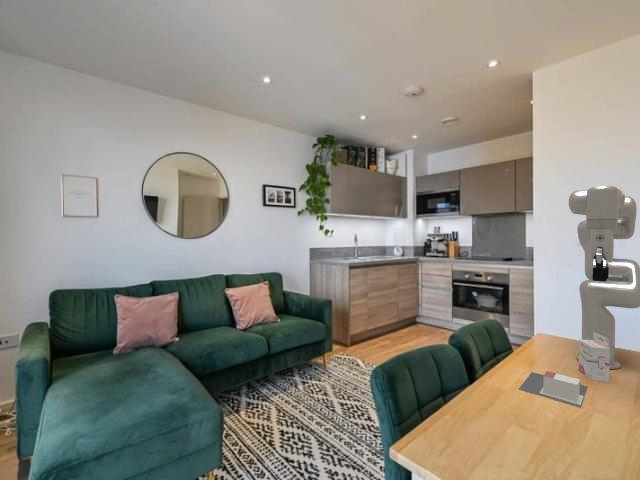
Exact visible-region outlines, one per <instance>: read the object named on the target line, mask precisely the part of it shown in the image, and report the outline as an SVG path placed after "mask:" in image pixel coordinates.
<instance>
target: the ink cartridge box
mask: <svg viewBox="0 0 640 480" xmlns="http://www.w3.org/2000/svg"><path fill="white" fill-rule="evenodd" d="M593 335H594V340H582V338H581V339H578V354H579V361H578V371H579V372H580V373H581V374H583V375H585V377H588V379H590V380H592V381H593V382H594V381H595V382H606V383H609V382H610V369H609V368H610V348H609V339H608V338H606V337H604V336H602V335H600V334H597V333H595V332H593ZM599 338H601V339H603V340H604V341H601V340H600V339H599Z"/></svg>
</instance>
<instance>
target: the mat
mask: <svg viewBox="0 0 640 480" xmlns="http://www.w3.org/2000/svg"><path fill="white" fill-rule="evenodd" d="M543 386H544V374H541V373H538V372H533V371H531V372H530V373H529V374H528V376H527V377H526V379H525V380H524V381H523V383H522V384H521V385H520V387H519V388H518V390H519V391H522V392H525V393H528V394H532V395H536V396H539V397H542V398H546V399H548V400H549V399H550V400H552V401H556V402H560V403H563V404H566V405H568V406H569V405H570V406H574V407H576V408H580V409H582V406H583V402H584V400H585V399H584V398H585V396H586V394H587V390H588V385H585V384H582V383H581V384H580V394H579V399H578V402H574V401H571V400H567V399H564V398H560V397H557V396H553V395H550V394H546V393H543Z"/></svg>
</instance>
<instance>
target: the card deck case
mask: <svg viewBox="0 0 640 480" xmlns="http://www.w3.org/2000/svg"><path fill="white" fill-rule="evenodd" d="M543 375H544V386H543V393H546V394H550V395H553V396H557V397H560V398H564V399H567V400H571V401H574V402H578V399H579V394H580V383H581V380H580V378H575V377H573V376H568V375H564V374H559V373H556V372H553V371H548V370H546V371H545V373H544V374H543Z"/></svg>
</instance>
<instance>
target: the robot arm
mask: <svg viewBox="0 0 640 480" xmlns="http://www.w3.org/2000/svg"><path fill="white" fill-rule="evenodd" d="M568 207H569V211H570V213H572V214H573V215H582V216H583V215H584V216H585V220H582V221H580V222H579V223H578V224H577V237H578V241H579V243H580V246H581V247H582V250H583V252H584V274H585V277H586V278H587V279H586V280H583V281H582V282H581V283H580V285H579V290H578V291H579V295H580V303H581V340H594V335H593V332H595V333H597V334H600V335H602V336H604V337H606V338H608V339H609V348H610V368H609V370H618V369H620V368H621V363H620V362H619V361H617V360H615V358H616V357H615V356H616V355H615V353H616V352H615V350H616V340H615V339H616V319H615V316H614V314H613V313H612V312H611V311H610V310H609V309H608V308H607V307H613V308H614V307H615V308H623V309H638V308H640V265H639V263H638V262H637V261H635V260H633V259H628V258H615V257H614V249H615V248H614V245H615V244H614V243H615V241H614V240H628V239H630V238H632V237H633V236H634V234H635V230H636V229H635V228H636V221H637V209H638V208H637V203H636V201H635V199H634V198H633V197H631V196H629V195H625V192H623V191H622V190H621V189H620V188H618V187H616V186H614V185H600V186H599V185H598V186H593V187H590V188H588V189H581V190H574V191H572V192H571V193H570V195H569V198H568ZM599 339H600V340H601V341H604V340H603V339H601V338H599ZM575 359H576V360H577V361H578V362H579V353H577V354H576V356H575Z"/></svg>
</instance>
